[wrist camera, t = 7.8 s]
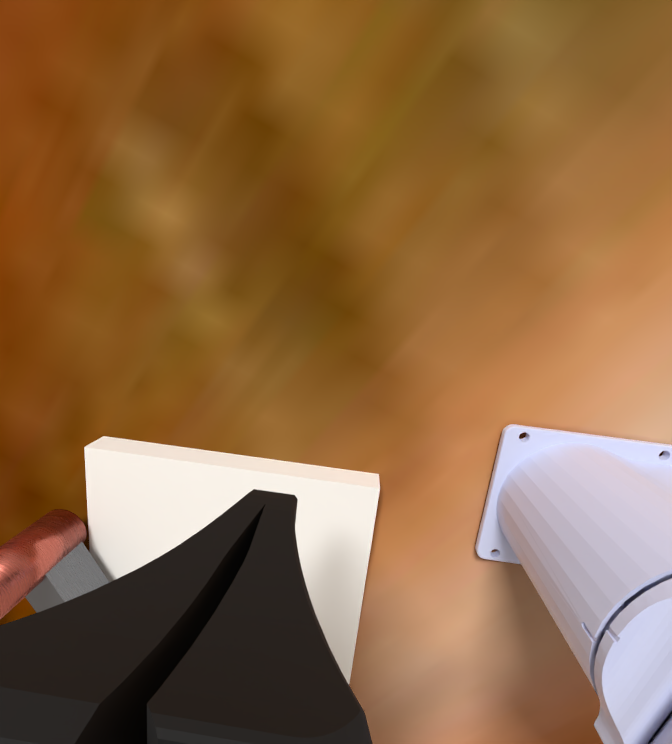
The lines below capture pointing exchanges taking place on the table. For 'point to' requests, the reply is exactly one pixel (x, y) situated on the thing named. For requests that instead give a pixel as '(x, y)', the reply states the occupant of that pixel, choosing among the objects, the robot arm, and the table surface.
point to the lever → (48, 563)
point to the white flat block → (215, 496)
